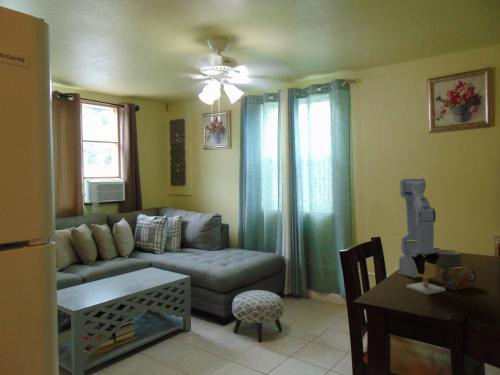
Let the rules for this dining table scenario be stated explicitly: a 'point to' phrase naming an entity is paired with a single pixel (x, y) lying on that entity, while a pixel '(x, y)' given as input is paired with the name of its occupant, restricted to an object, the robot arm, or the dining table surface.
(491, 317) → the dining table surface
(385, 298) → the dining table surface
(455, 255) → the can
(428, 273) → the yellow-orange cube block
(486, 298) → the dining table surface
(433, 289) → the base plate
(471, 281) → the tin
